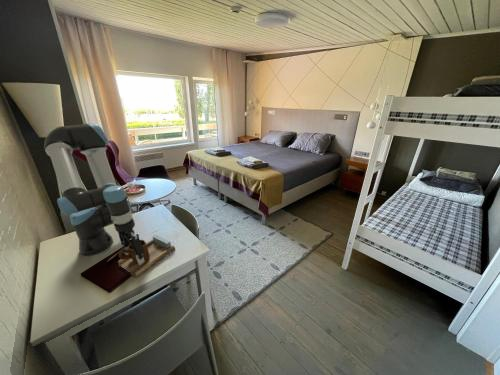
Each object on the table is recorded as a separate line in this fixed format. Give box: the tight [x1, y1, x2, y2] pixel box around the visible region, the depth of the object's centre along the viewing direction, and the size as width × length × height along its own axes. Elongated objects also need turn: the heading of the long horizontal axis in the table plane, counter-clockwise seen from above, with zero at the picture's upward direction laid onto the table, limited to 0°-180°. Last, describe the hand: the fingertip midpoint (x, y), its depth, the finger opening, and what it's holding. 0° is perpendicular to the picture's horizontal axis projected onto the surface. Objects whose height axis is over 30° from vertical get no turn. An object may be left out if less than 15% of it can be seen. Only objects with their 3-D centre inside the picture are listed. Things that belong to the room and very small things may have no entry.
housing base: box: [117, 238, 176, 279], centre depth 104 cm, size 15×22×3 cm
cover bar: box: [152, 234, 172, 249], centre depth 111 cm, size 12×2×4 cm, turn 59°
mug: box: [118, 239, 150, 265], centre depth 99 cm, size 12×8×9 cm, turn 128°
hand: (136, 260), depth 99 cm, fingers closed on mug, 7 cm apart
